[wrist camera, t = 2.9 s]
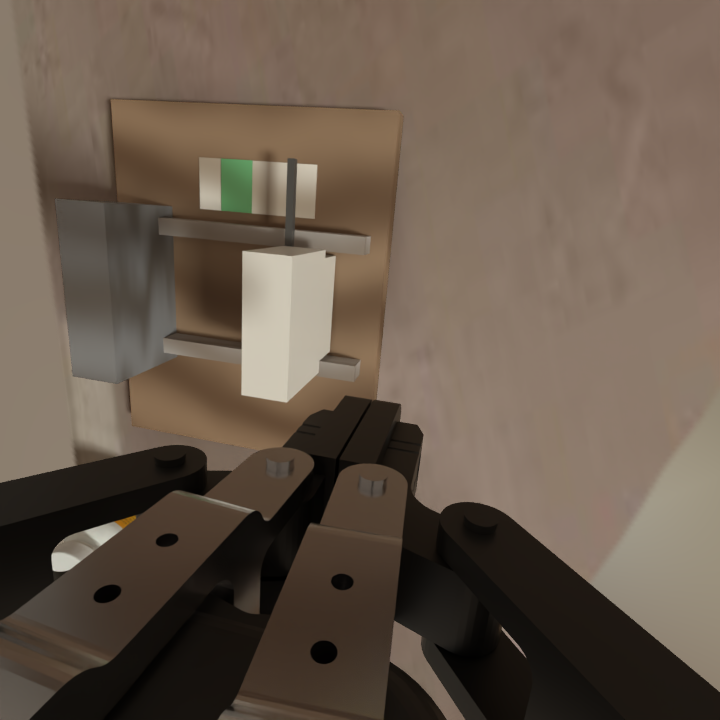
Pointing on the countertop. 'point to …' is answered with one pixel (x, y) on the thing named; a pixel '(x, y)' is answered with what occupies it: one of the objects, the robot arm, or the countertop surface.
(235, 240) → the gauge board
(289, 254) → the gauge slider
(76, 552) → the supplement bottle
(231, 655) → the robot arm
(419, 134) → the countertop surface
